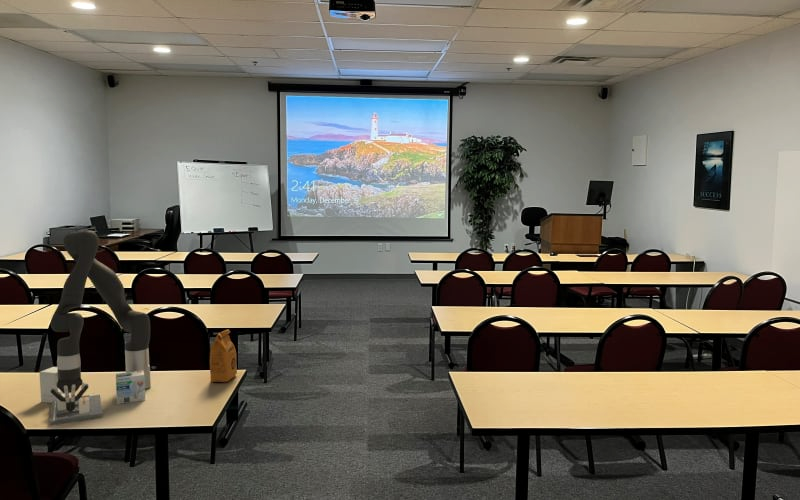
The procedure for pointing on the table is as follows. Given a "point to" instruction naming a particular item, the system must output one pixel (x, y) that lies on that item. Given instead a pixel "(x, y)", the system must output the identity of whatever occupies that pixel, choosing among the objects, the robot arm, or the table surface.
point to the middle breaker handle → (61, 404)
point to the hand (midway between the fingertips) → (70, 411)
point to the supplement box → (48, 384)
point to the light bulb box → (130, 387)
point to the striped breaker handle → (84, 405)
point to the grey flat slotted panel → (76, 411)
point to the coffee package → (222, 358)
